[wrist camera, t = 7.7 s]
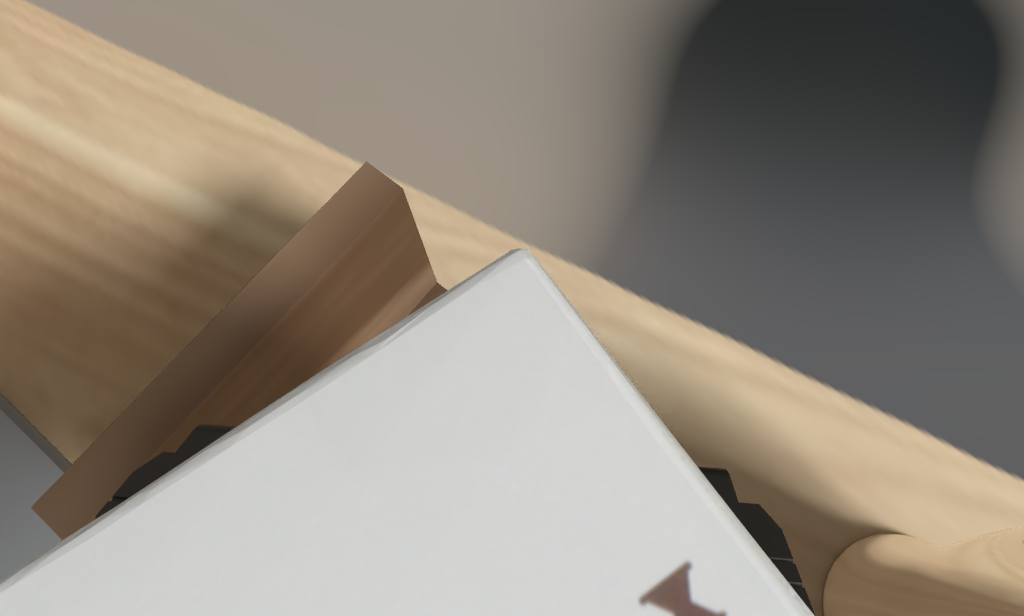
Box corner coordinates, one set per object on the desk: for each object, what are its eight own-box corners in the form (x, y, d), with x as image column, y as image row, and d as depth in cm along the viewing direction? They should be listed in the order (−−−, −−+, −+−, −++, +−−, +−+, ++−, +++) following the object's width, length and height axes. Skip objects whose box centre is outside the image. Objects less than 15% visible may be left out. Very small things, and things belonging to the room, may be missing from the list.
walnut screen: (161, 480, 29) (-18, 457, 19) (379, 244, 32) (318, 125, 23) (259, 574, 28) (119, 599, 18) (476, 319, 31) (454, 226, 21)
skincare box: (525, 420, 17) (539, 219, 6) (625, 567, 16) (874, 659, 5) (320, 561, 16) (-131, 638, 5) (411, 727, 15) (97, 1314, 4)
